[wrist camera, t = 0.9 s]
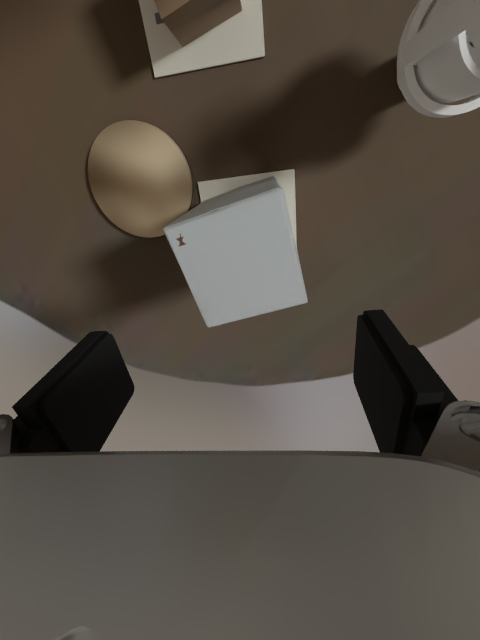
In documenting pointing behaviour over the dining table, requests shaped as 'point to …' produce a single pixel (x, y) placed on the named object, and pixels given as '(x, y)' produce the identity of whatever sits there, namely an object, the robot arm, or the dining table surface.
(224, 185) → the code tile
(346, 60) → the dining table surface
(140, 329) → the dining table surface
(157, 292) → the dining table surface
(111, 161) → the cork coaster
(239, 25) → the code tile
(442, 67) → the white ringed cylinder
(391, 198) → the dining table surface
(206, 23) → the walnut block
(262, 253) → the supplement box
